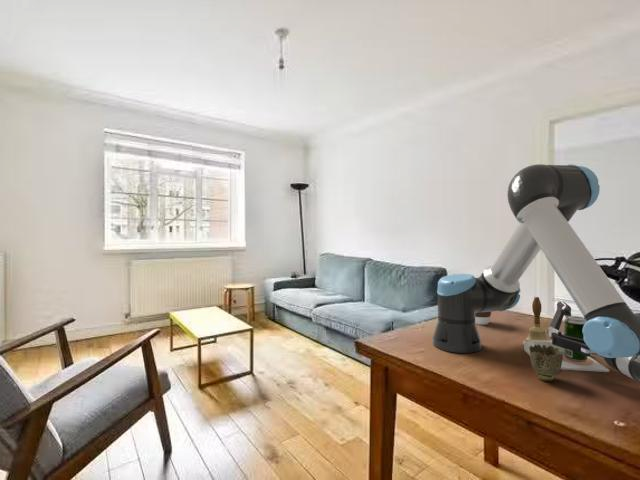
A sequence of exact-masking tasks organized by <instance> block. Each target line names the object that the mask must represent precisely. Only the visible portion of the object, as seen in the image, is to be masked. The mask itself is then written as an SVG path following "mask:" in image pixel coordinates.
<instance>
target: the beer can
mask: <svg viewBox="0 0 640 480" xmlns="http://www.w3.org/2000/svg"><path fill="white" fill-rule="evenodd" d="M586 322H587V321H586V319H585V318H584V316H583V317H582V316H578V315H571V316H566V317H565V319H564V335H566V336H571V337H575V338H580V339H583V338H584V336H583V333H582V330H583V327H584V324H585V323H586ZM564 355H565V357H566V359H568V360H571V361H574V362H586V360H587V356H584V355H582V354H580V353H577V352H574V351H571V350H568V349H565V348H564Z"/></svg>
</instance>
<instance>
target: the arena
mask: <svg viewBox="0 0 640 480" xmlns="http://www.w3.org/2000/svg"><path fill="white" fill-rule="evenodd" d="M523 342H524V344H523V347H524V349H523V350H524V352H525V353H526V354H527V355H528V356H530V351H529V347H531V345H532V347H534V345H535V344H536V346H537V345H540V346H541V347H543V345H545V346H546V347H549V346H552V347H554V348H558V349H559V352H561V351H562V350H563V352H564V348H562V347H559V346H556V345H553V344H552V340H548V341H545V340H526V339H524V340H523ZM561 370H565V371H579V372H580V371H583V372H598V373H599V372H600V373H601V372H602V373H610V369H608V368H607V367H606V366H604V365H603V364H601V363H599V362H598V361H597V360H595V359H594V358H592V357H591V356H589V357H587V360H586V362H574V361H571V360H568V359H566V357H565V355H564V353H563V359H562V365H561V369H560V371H561Z"/></svg>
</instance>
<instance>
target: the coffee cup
mask: <svg viewBox="0 0 640 480" xmlns="http://www.w3.org/2000/svg"><path fill="white" fill-rule="evenodd" d="M491 315H492V312H480V313H475V324H476V325H479V326H482V325H483V326H485V325H488V324H489V322H490V318H491Z"/></svg>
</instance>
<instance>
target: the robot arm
mask: <svg viewBox="0 0 640 480" xmlns="http://www.w3.org/2000/svg"><path fill="white" fill-rule="evenodd" d="M600 187H601V186H600V184H599V178H598V177H597V174H596V173H595V172H594V171H593V170H591V169H590V168H589V167H586V166H582V165H576V164H564V165H563V164H561V165H560V164H539V163H537V164H531V165H529V166H526V167H524V168H522V169H521V170H519V171H518V172H517V173H516V174H515V175H514V176H513V177H512V179H511V180H510V182H509V183H508V187H507V202H508V206H509V208H510V211H511V212H512V214H513V216H514V217H515V219H516V220H517V222H518V223H519V224H517V227H516V228H515V230H514V231H513V233H512V234H511V236H510V238H509V239H508V241H507V242H506V244H505V246H504V247H503V249H502V250H501V252H500V254H499V255H498V257H497V258H496V260H495V261H494V263H493V265H491V266H487V267H485V269H483V271H482V273H481V274H480V275H479V276H478V277H475V276H474V275H473V274H469V273H459V274H458V273H455V274H449V275H444V276H442V277H441V278H440V279H439V280H438V281H437V290H436V292H437V323H436V326H435V330H434V331H433V334H432V345H433V346H434V347H436V348H437V349H440V350H442V351H445V352H450V353H456V354H457V353H458V354H469V353H476V352H478V351H480V350H481V349H482V339H481V337H480V334H479V331H478V328H477V326H476V325H477V324H475V313H480V312H491V313H492V312H503V311H506V310H507V311H508V310H510V309H512V308H515V307H516V306H517V304H518V303H519V301H520V299H521V294H520V293H521V288H520V287H521V283H520V281H519V280H520V279H521V277H522V276H523V275H524V273H525V272H526V271H527V269H528V267H529V266H530V265H531V264H532V262H533V261H534V259H536V257H537V255H538V254H539V252H540V251H542V253H543V254H544V256H545V258H546V259H547V261H548V262H549V263H550V266H551V268H552V269H553V271H554V272H555V273H556V275H557V277H558V278H559V280H560V281H561V283H562V285H563V286H564V288H565V289H566V291H567V292H568V294H569V295H570V298H571V299H572V300H573V302H574V304H575V305H576V307H577V308H578V310H579V312H580V313H581V314H582V316H583V318H585V319H586V321H587V322H586V323H585V324H584V327H583V330H582V333H583V336H584V338H583V339H580V338H575V337H571V336H566V335H564V333H563V332H562V331H561V330H559V331H558V330H556V329H555V328H553V327H549V326H548V329H549V335H548V337H549V338H550V337H551V338H550V339H551V341H552V344H553V345H556V346H559V347H562V348H565V349H568V350H571V351H574V352H577V353H580V354H582V355H584V356H587V357H591V354H592V355H595V356H598V357H601V358H603V360H604V361H605V363H606V364H607V365H608V366H609V367H610V368H612V369H614V370H616V371H618V372H619V373H622V375H624V376H626V377H629V378H630V379H632V380H634V381H636V382H637V383H638V384H640V313H634V311H633V310H632V309H631V308H630V306H629V305H628V304H627V302H626V301H625V300H624V298H623V297H622V295H621V294H620V293H619V291H618V290H617V288H616V287H615V286H614V285H613V283H612V281H611V280H610V279H609V277H608V276H607V274H606V273H605V272H604V270H602V267H601V266H600V265H599V263H598V262H597V260H596V259H595V257H594V256H593V254H591V252H590V251H589V249H588V248H587V247H586V245H585V244H584V242H583V240H582V239H581V238H580V237H579V236H578V234H577V232H576V231H575V229H573V227H572V226H571V224H570V223H569V222H570V220H571V219H572V218H573V216H574V215H575V214H576V212H577V211H582V210H583V211H584V210H586V209H588V208H590V207H591V206H592V205H594V204H595V203H596V201H597V200H598V198H599V195H600Z"/></svg>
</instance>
